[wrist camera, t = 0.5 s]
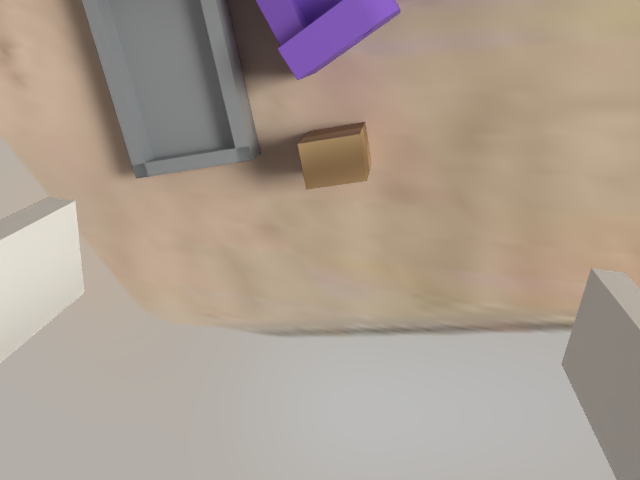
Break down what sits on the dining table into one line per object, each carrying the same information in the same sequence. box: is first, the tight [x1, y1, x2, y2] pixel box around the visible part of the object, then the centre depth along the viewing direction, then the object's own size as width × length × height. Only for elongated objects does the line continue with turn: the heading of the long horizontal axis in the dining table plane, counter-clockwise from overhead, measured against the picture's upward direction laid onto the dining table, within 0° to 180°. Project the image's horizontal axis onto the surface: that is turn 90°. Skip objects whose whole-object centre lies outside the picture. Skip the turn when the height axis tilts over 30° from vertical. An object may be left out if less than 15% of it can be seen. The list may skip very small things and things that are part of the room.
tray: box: [82, 0, 260, 178], centre depth 37 cm, size 14×9×2 cm, turn 10°
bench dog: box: [298, 122, 371, 189], centre depth 36 cm, size 3×4×5 cm
